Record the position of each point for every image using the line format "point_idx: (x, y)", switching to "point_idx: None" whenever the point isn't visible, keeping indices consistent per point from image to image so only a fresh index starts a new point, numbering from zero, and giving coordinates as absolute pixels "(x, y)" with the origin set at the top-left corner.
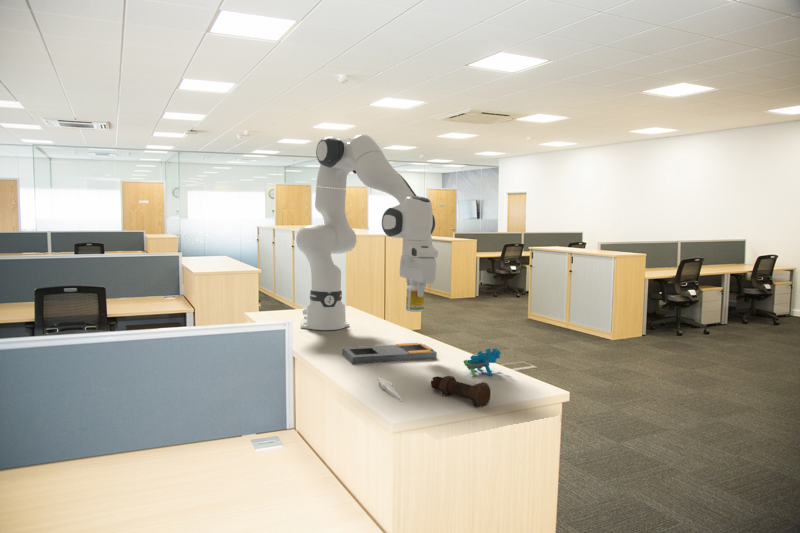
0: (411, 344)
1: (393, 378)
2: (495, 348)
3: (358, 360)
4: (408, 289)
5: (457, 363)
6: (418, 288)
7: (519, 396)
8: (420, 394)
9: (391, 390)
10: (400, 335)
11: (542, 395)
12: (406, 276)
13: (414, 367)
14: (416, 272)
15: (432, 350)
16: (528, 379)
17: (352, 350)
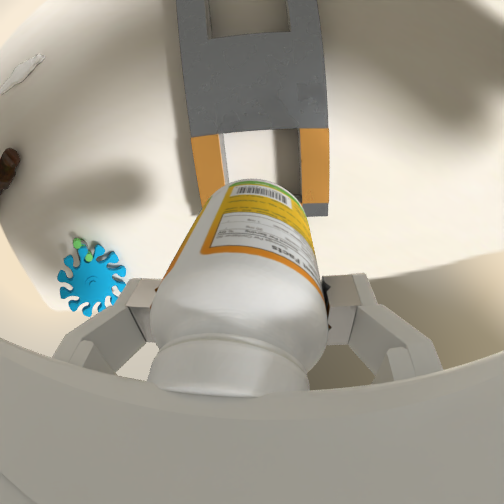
0: (309, 176)
1: (62, 79)
2: (70, 308)
3: None
4: (196, 262)
5: (165, 246)
6: (90, 320)
7: (24, 258)
8: (6, 127)
9: (4, 84)
10: (478, 218)
11: (35, 284)
12: (389, 406)
13: (131, 132)
14: (5, 429)
15: None
16: None
17: None
